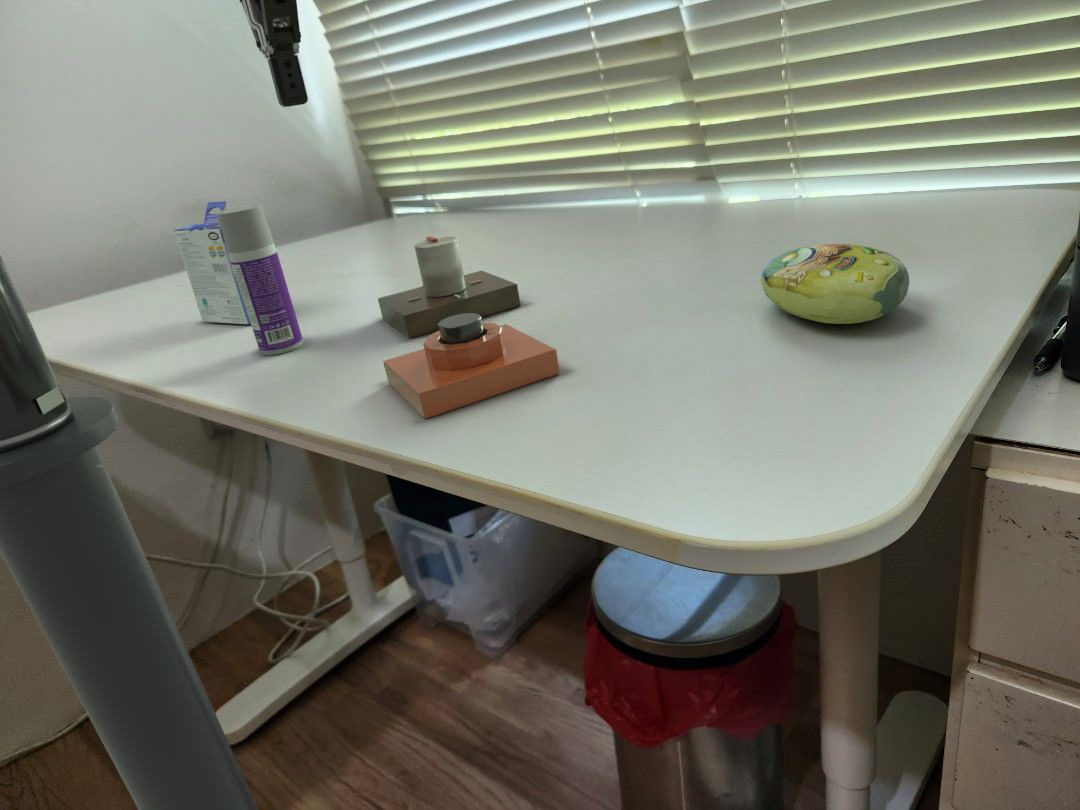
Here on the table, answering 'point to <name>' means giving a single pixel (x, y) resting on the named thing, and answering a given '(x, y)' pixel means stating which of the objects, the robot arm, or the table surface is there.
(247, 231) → the container
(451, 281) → the dial
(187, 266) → the ink cartridge box
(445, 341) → the button
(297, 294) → the table surface
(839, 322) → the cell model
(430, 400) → the button housing
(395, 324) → the dial panel
